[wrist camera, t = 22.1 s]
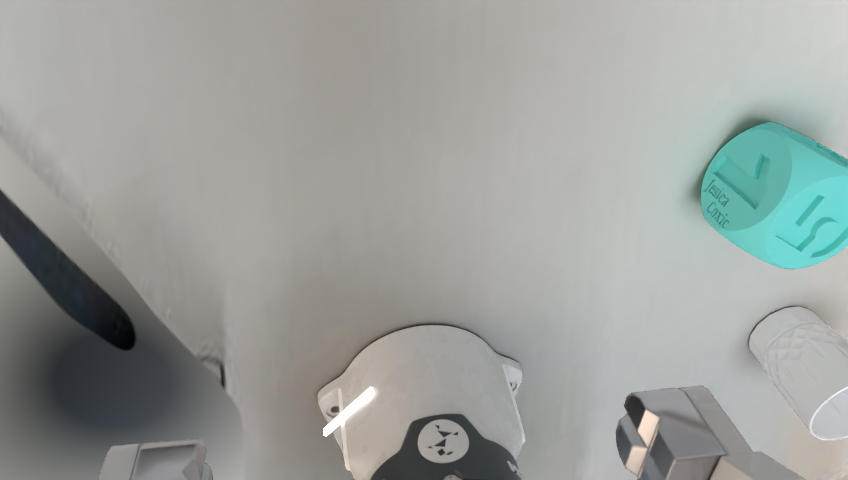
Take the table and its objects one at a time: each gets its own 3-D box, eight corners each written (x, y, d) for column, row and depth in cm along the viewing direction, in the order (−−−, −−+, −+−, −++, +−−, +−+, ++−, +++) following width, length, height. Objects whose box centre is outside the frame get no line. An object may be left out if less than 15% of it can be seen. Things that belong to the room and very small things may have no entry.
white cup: (791, 361, 64) (863, 441, 55) (727, 358, 62) (792, 440, 53) (834, 303, 59) (918, 380, 51) (767, 298, 57) (844, 376, 49)
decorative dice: (746, 109, 45) (819, 157, 39) (819, 141, 48) (899, 191, 42) (682, 197, 49) (739, 255, 43) (754, 223, 52) (818, 281, 45)
